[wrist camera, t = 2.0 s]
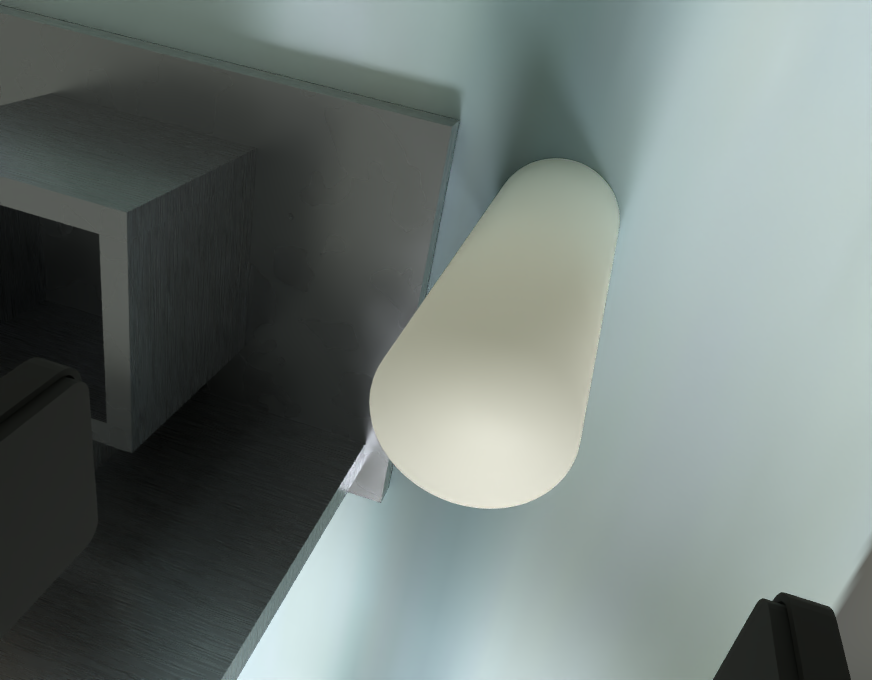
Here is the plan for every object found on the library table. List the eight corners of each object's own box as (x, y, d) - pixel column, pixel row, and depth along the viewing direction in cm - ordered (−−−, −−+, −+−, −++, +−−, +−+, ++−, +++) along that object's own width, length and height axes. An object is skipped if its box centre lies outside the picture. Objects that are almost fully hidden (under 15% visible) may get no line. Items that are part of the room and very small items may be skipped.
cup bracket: (388, 487, 31) (190, 867, 18) (-36, 348, 34) (-463, 592, 21) (459, 120, 24) (213, 327, 11) (-90, -18, 27) (-792, 18, 14)
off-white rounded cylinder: (647, 221, 24) (629, 434, 14) (555, 302, 26) (479, 541, 16) (554, 130, 23) (462, 278, 13) (468, 220, 25) (330, 409, 15)
